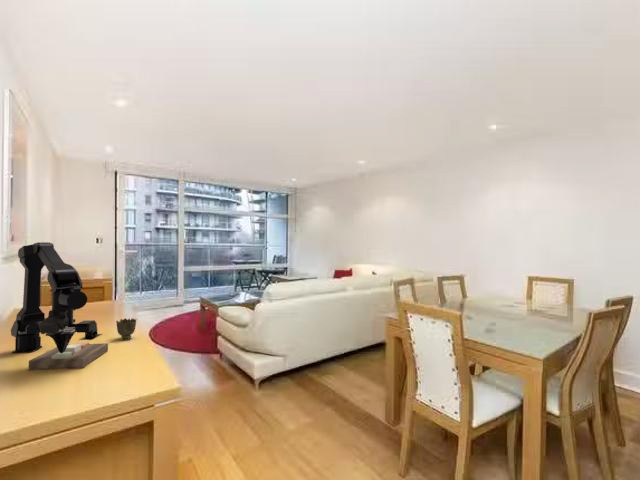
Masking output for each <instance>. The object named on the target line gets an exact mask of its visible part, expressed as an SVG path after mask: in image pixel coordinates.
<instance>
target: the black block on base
mask: <svg viewBox="0 0 640 480" xmlns="http://www.w3.org/2000/svg"><path fill="white" fill-rule="evenodd" d="M102 335H103V333H98V327H97V328H96V329H94V330H92V331H90V332H84V337H82V338H80V339H79V341H83V340H84V341H85V340H87V341H90V340H94V339H96V338H98V337H99V336H102Z"/></svg>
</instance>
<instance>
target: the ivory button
mask: <svg viewBox="0 0 640 480" xmlns="http://www.w3.org/2000/svg"><path fill="white" fill-rule="evenodd" d="M80 350H81V344H76V343H74V345H69V344H68V346H67V348H66V350H65V352H72V353H76V352H78V351H80Z"/></svg>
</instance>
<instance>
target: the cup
mask: <svg viewBox="0 0 640 480" xmlns="http://www.w3.org/2000/svg"><path fill="white" fill-rule="evenodd" d="M115 322H116V329H117V333H118V335H119V336H121V339H122V340H124V341H125V340H129V339H131V337H132V335H133V334H134V332H135V331H136V326H137V318H131V319H130V318H123V319H122V318H120V320H118V319H117V320H116V321H115Z"/></svg>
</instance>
